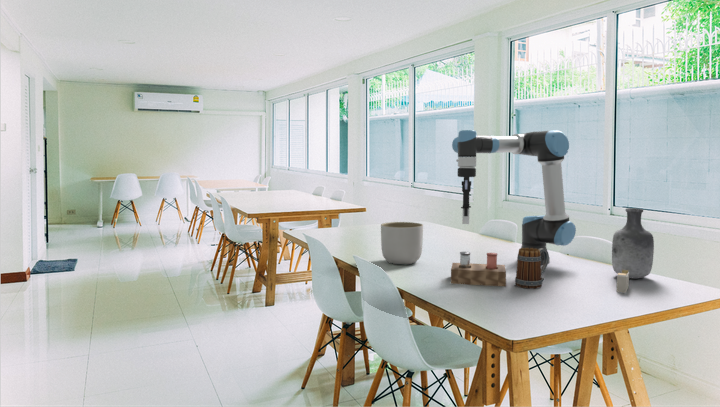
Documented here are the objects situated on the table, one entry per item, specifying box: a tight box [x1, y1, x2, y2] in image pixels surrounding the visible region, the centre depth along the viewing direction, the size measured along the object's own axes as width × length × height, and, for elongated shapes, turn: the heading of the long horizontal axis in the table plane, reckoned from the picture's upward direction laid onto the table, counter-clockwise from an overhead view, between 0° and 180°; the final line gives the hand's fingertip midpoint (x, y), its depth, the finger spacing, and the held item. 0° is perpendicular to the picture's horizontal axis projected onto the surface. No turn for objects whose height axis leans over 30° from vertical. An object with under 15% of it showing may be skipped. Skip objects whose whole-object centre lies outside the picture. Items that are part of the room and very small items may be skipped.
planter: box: [380, 221, 424, 265], centre depth 261 cm, size 21×21×19 cm
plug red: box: [486, 252, 498, 269], centre depth 221 cm, size 4×4×9 cm
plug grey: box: [459, 251, 472, 268], centre depth 224 cm, size 4×4×9 cm
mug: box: [514, 247, 550, 290], centre depth 216 cm, size 16×11×15 cm
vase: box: [611, 207, 655, 280], centre depth 228 cm, size 16×16×30 cm
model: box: [616, 269, 630, 294], centre depth 209 cm, size 3×11×8 cm, turn 148°
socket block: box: [450, 262, 507, 287], centre depth 223 cm, size 22×14×6 cm, turn 77°
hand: (465, 223), depth 222 cm, fingers closed
